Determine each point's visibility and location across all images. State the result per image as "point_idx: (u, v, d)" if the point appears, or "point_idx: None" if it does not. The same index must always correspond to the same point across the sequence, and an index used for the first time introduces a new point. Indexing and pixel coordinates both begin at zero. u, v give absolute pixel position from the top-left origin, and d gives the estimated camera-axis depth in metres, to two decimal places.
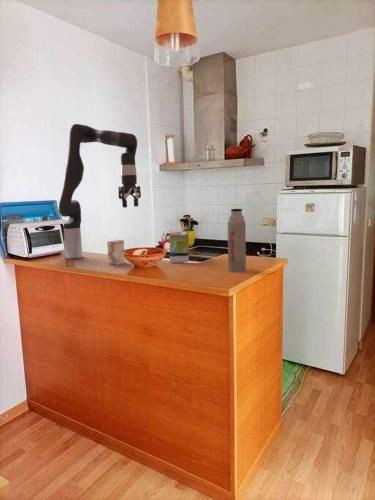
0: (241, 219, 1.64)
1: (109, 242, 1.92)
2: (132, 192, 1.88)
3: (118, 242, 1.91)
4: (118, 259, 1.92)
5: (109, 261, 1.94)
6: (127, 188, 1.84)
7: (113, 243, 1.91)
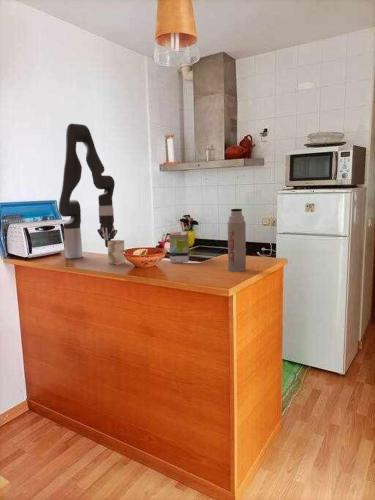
0: (241, 219, 1.64)
1: (109, 242, 1.92)
2: None
3: (118, 242, 1.91)
4: (118, 259, 1.92)
5: (109, 261, 1.94)
6: None
7: (113, 243, 1.90)
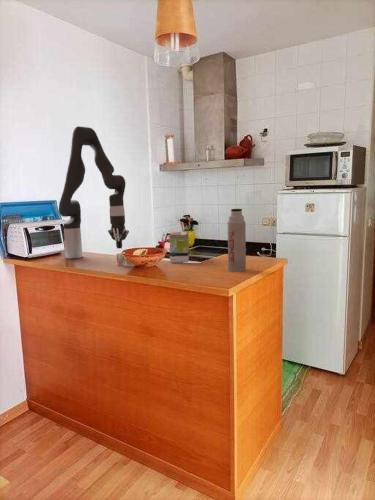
0: (241, 219, 1.64)
1: None
2: None
3: None
4: None
5: (118, 255, 1.90)
6: None
7: None
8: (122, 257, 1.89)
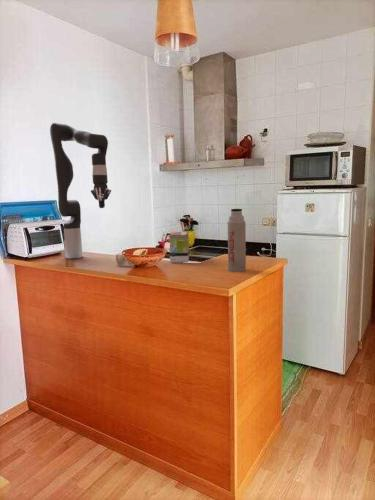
0: (241, 219, 1.64)
1: None
2: None
3: None
4: None
5: (118, 255, 1.89)
6: None
7: None
8: (123, 257, 1.88)
